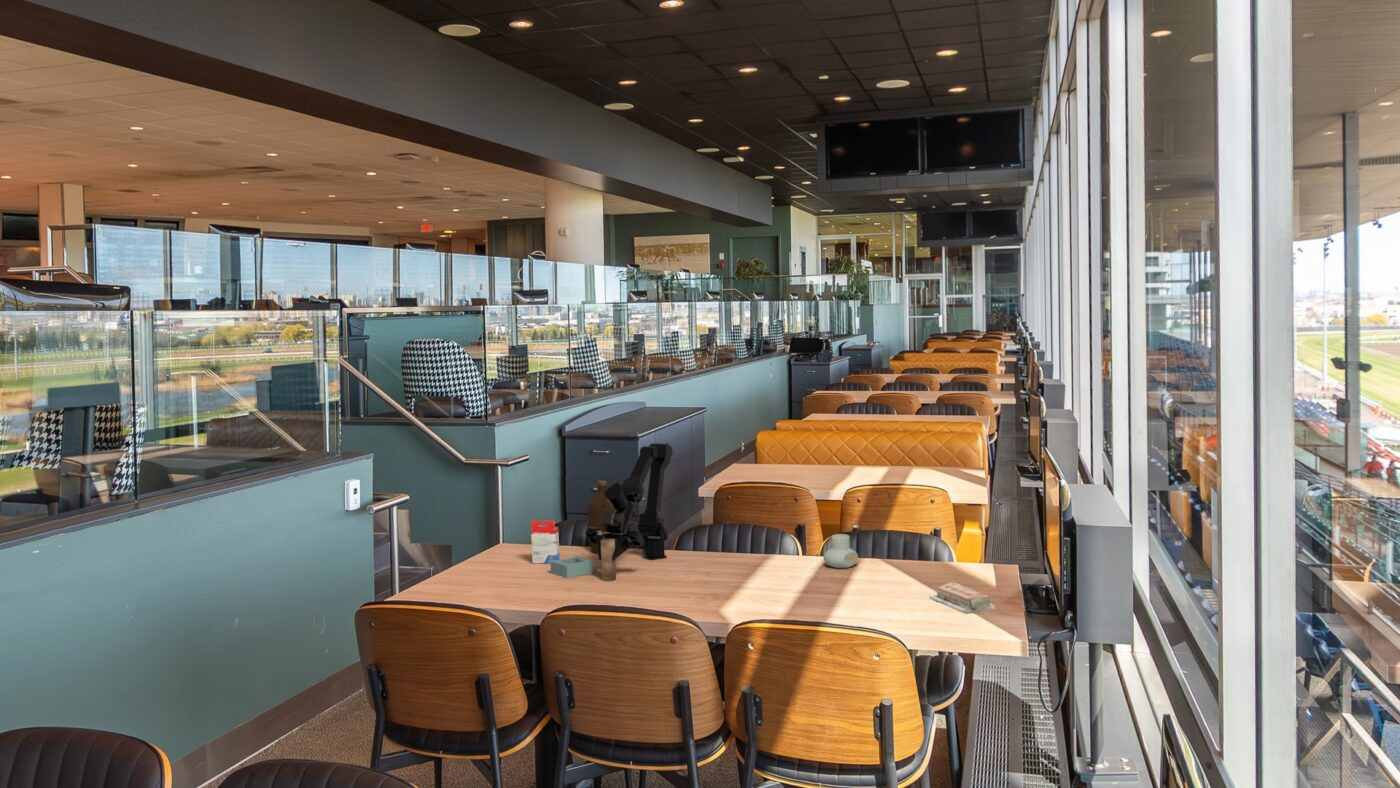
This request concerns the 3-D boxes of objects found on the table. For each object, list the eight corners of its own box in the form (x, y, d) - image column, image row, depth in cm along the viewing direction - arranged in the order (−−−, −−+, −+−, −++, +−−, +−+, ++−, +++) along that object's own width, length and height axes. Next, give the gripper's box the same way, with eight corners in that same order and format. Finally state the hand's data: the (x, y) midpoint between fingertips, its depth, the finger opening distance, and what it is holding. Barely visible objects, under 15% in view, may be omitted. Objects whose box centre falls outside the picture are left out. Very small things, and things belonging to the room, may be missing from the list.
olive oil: (625, 551, 374) (623, 480, 373) (599, 555, 368) (597, 484, 366) (609, 546, 383) (606, 477, 381) (583, 551, 376) (581, 481, 375)
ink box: (560, 560, 362) (558, 517, 362) (556, 563, 358) (555, 520, 357) (535, 560, 363) (533, 518, 362) (531, 564, 358) (530, 520, 358)
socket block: (577, 568, 350) (576, 556, 350) (593, 573, 342) (593, 561, 342) (550, 573, 344) (550, 561, 343) (567, 578, 336) (566, 566, 335)
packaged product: (997, 593, 286) (965, 598, 282) (997, 611, 286) (965, 616, 283) (958, 579, 303) (928, 583, 299) (958, 595, 303) (928, 600, 300)
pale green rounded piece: (839, 571, 335) (838, 540, 335) (819, 567, 341) (819, 536, 341) (862, 565, 342) (861, 534, 342) (842, 561, 349) (841, 531, 348)
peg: (612, 577, 336) (611, 537, 335) (618, 579, 332) (616, 540, 331) (599, 578, 334) (598, 539, 333) (605, 581, 330) (603, 541, 329)
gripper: (586, 502, 339) (570, 543, 330) (638, 504, 332) (623, 546, 322) (599, 522, 347) (583, 563, 337) (650, 525, 339) (636, 566, 330)
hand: (606, 559), depth 331 cm, fingers closed on peg, 4 cm apart
